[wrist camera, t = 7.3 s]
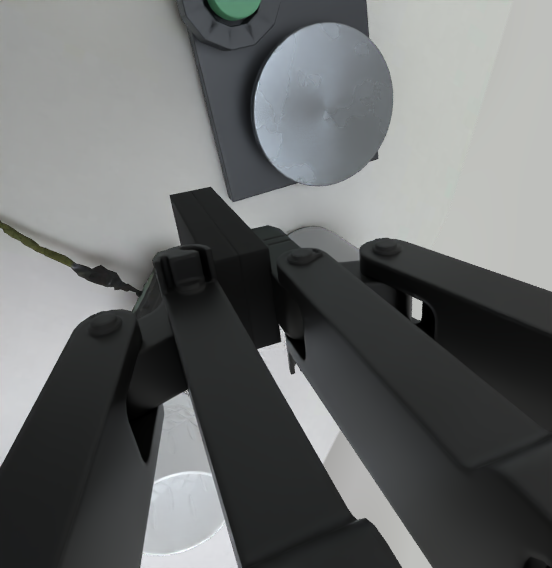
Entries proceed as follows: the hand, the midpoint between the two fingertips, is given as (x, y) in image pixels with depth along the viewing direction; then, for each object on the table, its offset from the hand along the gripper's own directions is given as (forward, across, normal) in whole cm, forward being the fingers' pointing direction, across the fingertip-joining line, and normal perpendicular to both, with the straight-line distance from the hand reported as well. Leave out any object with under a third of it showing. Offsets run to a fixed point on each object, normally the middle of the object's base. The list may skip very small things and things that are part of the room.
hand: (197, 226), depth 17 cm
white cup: (+17, -4, -22) cm, 28 cm away
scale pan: (+13, +11, +1) cm, 18 cm away
